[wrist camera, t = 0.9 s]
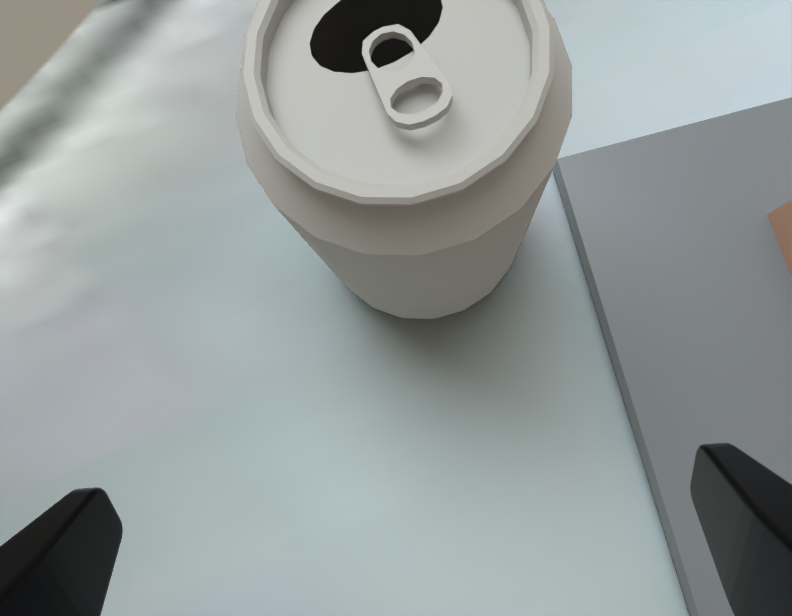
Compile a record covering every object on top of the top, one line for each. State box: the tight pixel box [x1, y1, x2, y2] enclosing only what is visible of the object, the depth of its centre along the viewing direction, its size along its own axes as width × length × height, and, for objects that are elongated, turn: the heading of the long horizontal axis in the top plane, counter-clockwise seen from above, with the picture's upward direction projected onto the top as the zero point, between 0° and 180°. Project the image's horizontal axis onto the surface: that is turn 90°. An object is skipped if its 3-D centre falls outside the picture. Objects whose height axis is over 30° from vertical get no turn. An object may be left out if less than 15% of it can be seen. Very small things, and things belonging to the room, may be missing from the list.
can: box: [236, 0, 572, 319], centre depth 17 cm, size 8×8×12 cm
